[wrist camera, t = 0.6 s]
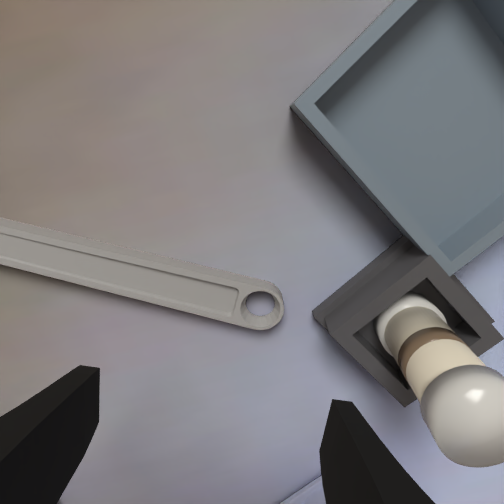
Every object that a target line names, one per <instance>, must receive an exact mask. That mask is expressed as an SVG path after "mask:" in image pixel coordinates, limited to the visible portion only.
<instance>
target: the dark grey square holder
mask: <svg viewBox="0 0 504 504" xmlns="http://www.w3.org/2000/svg"><path fill="white" fill-rule="evenodd" d="M408 291H412V292H417V293H420V294H422V295H424V296H425V297H427V298H428V299H429V300H430V301H431V302H432V303H433V304H434V305H435V306H436V307H437V308H438V309H439V311H440V312H441V313H442V314H443V315H444V317H445V319H446V322H447V325H448V326H449V327H450V328H451V329H452V330H453V331H454V332H455V333H456V334H457V335H458V336H459V337H460V338H461V339H462V340H463V341H464V342H465V343H466V345H467V346H468V347H469V348H470V349H471V350H472V351H473V353H474V354H475V355H476V356H477V357H478V356H480V355H481V354H483V353H484V352H486V351H487V350H489V349H490V348H492V347H493V346H494V345H496V344H497V343H499V342H500V341H502V340H503V339H504V338H503V337H502V335H501V334H500V333H499V332H498V331H497V330H496V329H495V328H494V326H493V325H492V323H493V322H495V321H494V320H493V319H492V318H491V317H490V315H489V314H488V313H487V312H486V311H485V310H484V309H483V307H482V306H481V305H480V304H479V303H478V302H477V301H476V299H475V298H474V297H473V296H472V295H471V294H470V293H469V291H468V290H467V289H466V288H465V287H464V286H463V285H462V283H461V282H460V281H459V280H458V279H457V278H456V276H455V275H454V274H453V275H452V276H449V275H448V274H447V273H446V272H445V271H444V270H443V268H442V267H441V266H440V265H439V264H438V263H437V262H436V260H435V259H434V258H433V257H432V256H431V255H430V254H429V255H427V254H425V253H424V252H423V251H421V250H420V249H419V248H418V247H416V246H415V245H414V244H413V243H412V242H411V241H410V240H409V239H408V238H407V237H406V236H402V237H401V238H400V239H399V240H398V241H396V242H395V243H394V244H393V245H391V246H390V247H389V248H388V249H387V250H385V251H384V252H383V253H382V254H381V255H379V256H378V257H377V258H376V259H374V260H373V261H372V262H371V263H370V264H368V265H367V266H366V267H365V268H364V269H362V270H361V271H360V272H359V273H357V274H356V275H355V276H354V277H353V278H351V279H350V280H349V281H348V282H347V283H345V284H344V285H343V286H342V287H340V288H339V289H338V290H337V291H336V292H334V293H333V294H332V295H331V296H330V297H328V298H327V299H326V300H325V301H323V302H322V303H321V304H320V305H319V306H317V307H316V308H315V309H314V310H313V311H312V312H313V315H314V318H315V319H316V320H317V321H318V322H319V323H320V324H321V325H322V326H323V327H324V328H325V329H326V330H327V331H329V334H330V335H331V336H332V337H333V338H334V339H335V340H336V341H337V342H338V343H339V344H340V345H341V346H342V347H343V348H344V349H345V350H346V351H347V352H348V353H349V354H350V355H351V356H352V357H353V358H354V359H355V360H356V361H357V362H358V363H359V364H360V365H362V366H363V367H364V368H365V369H366V370H367V371H368V372H369V373H370V374H371V375H372V376H373V377H374V378H375V379H376V380H377V381H378V382H379V383H380V384H381V385H382V386H383V387H384V388H385V389H386V390H387V391H388V392H389V393H390V394H391V395H392V396H393V397H394V398H395V399H396V400H398V401H399V402H400V403H401V404H402V405H403V406H404V407H406V406H407V405H409V404H410V403H412V402H413V401H415V400H416V399H417V397H416V395H415V393H414V392H413V390H412V388H411V387H410V385H409V384H408V382H407V380H406V379H405V377H404V375H403V373H402V372H401V370H400V368H399V365H398V364H397V362H396V360H395V358H394V357H393V356H392V355H390V354H389V353H388V352H387V351H386V350H385V349H384V347H383V345H382V343H381V342H380V340H379V338H378V336H377V334H376V333H375V330H374V327H373V319H374V318H375V317H376V316H378V315H379V314H380V313H381V312H383V311H384V310H385V309H387V308H388V307H389V306H390V305H392V304H393V303H394V302H396V301H397V300H398V299H399V298H401V297H402V296H403V295H405V294H406V293H407V292H408Z"/></svg>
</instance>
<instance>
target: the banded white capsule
mask: <svg viewBox="0 0 504 504" xmlns="http://www.w3.org/2000/svg"><path fill="white" fill-rule="evenodd" d="M373 327H374V330H375V333H376V334H377V336H378V338H379V340H380V342H381V343H382V345H383V347H384V349H385V350H386V351H387V352H388V353H389V354H390V355H392V356H393V357H394V358H395V360H396V362H397V364H398V365H399V368H400V370H401V372H402V373H403V375H404V377H405V379H406V380H407V382H408V384H409V385H410V387H411V388H412V390H413V392H414V393H415V395H416V397H417V399H418V400H419V402H420V410H421V415H422V417H423V420H424V421H425V423H426V425H427V427H428V429H429V430H430V432H431V434H432V436H433V438H434V439H435V441H436V443H437V445H438V447H439V448H440V450H441V452H442V453H443V454H444V455H445V456H446V457H447V458H448V459H450V460H451V461H453V462H455V463H457V464H460V465H463V466H468V467H488V466H493V465H497V464H500V463H503V462H504V377H503V376H502V375H501V374H500V373H499V372H497V371H496V370H494V369H492V368H489V367H486V365H485V364H484V363H483V362H482V361H481V360H480V359H479V358H478V357H477V356H476V355H475V354H474V353H473V351H472V350H471V349H470V348H469V347H468V346H467V345H466V343H465V342H464V341H463V340H462V339H461V338H460V337H459V336H458V335H457V334H456V333H455V332H454V331H453V330H452V329H451V328H450V327H449V326H448V325H447V322H446V319H445V317H444V315H443V314H442V313H441V312H440V311H439V309H438V308H437V307H436V306H435V305H434V304H433V303H432V302H431V301H430V300H429V299H428V298H427V297H425V296H424V295H422V294H420V293H417V292H412V291H408V292H407V293H406V294H405V295H403V296H402V297H401V298H399V299H398V300H397V301H396V302H394V303H393V304H392V305H390V306H389V307H388V308H387V309H385V310H384V311H383V312H381V313H380V314H379V315H378V316H376V317H375V318H374V319H373Z"/></svg>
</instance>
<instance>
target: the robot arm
mask: <svg viewBox="0 0 504 504" xmlns="http://www.w3.org/2000/svg"><path fill="white" fill-rule="evenodd" d="M99 384H100V368H96V367H89V366H82V365H80V366H78V367H76V368H75V369H73V370H72V371H70V372H69V373H67V374H66V375H64V376H63V377H61V378H60V379H59V380H57V381H56V382H54V383H53V384H51V385H50V386H48V387H47V388H45V389H44V390H42V391H41V392H39V393H38V394H36V395H35V396H33V397H32V398H30V399H28V400H27V401H25V402H24V403H22V404H21V405H19V406H18V407H16V408H14V409H13V410H11V411H9V412H8V413H6V414H4V415H3V416H1V417H0V504H56V503H57V502H58V500H59V498H60V497H61V495H62V493H63V492H64V490H65V488H66V486H67V485H68V483H69V481H70V479H71V478H72V476H73V474H74V473H75V471H76V469H77V467H78V466H79V464H80V462H81V460H82V459H83V457H84V455H85V453H86V451H87V448H88V446H89V444H90V442H91V440H92V437H93V435H94V432H95V430H96V428H97V425H98V423H99ZM320 464H321V476H320V477H318V478H317V479H315V480H314V481H312V482H311V483H309V484H308V485H306V486H305V487H303V488H302V489H301V490H299V491H298V492H296V493H295V494H293V495H292V496H290V497H289V498H287V499H286V500H284V501H283V502H281V503H280V504H435V503H434V502H433V501H432V500H431V499H430V497H429V496H428V495H427V494H426V493H425V492H424V491H423V490H422V489H421V488H420V487H419V485H418V484H417V483H416V482H415V481H414V480H413V479H412V478H411V476H410V475H409V474H408V473H407V472H406V471H405V470H404V468H403V467H402V466H401V465H400V464H399V462H398V461H397V460H396V459H395V458H394V456H393V455H392V454H391V453H390V451H389V450H388V449H387V448H386V446H385V445H384V444H383V442H382V441H381V440H380V439H379V437H378V436H377V435H376V433H375V432H374V431H373V429H372V428H371V427H370V425H369V424H368V423H367V421H366V420H365V419H364V417H363V416H362V415H361V413H360V412H359V411H358V409H357V408H356V407H355V405H354V404H353V403H352V402H349V401H342V400H334V399H332V403H331V407H330V411H329V415H328V419H327V423H326V427H325V431H324V435H323V439H322V443H321V447H320Z"/></svg>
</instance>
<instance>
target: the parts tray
mask: <svg viewBox="0 0 504 504" xmlns="http://www.w3.org/2000/svg"><path fill="white" fill-rule="evenodd" d="M290 107H291V108H292V110H293V111H294V112H295V113H296V114H297V115H298V116H299V117H300V119H301V120H302V121H303V122H304V123H305V124H306V125H307V126H308V128H309V129H310V130H311V131H312V132H313V133H314V134H315V136H316V137H317V138H318V139H319V140H320V141H321V142H322V143H323V145H324V146H325V147H326V148H327V149H328V150H329V151H330V152H331V154H332V155H333V156H334V157H335V158H336V159H337V160H338V161H339V163H340V164H341V165H342V166H343V167H344V168H345V169H346V170H347V172H348V173H349V174H350V175H351V176H352V177H353V178H354V179H355V181H356V182H357V183H358V184H359V185H360V186H361V187H362V189H363V190H364V191H365V192H366V193H367V194H368V195H369V196H370V198H371V199H372V200H373V201H374V202H375V203H376V204H377V205H378V207H379V208H380V209H381V210H382V211H383V212H384V213H385V214H386V216H387V217H388V218H389V219H390V220H391V221H392V222H393V223H394V225H395V226H396V227H397V228H398V229H399V230H400V231H401V232H402V234H403V235H404V236H406V237H407V238H408V239H409V240H410V241H411V242H412V243H413V244H414V245H415V246H416V247H418V248H419V249H420V250H421V251H423V252H424V253H425V254H427V255H429V254H430V255H431V256H432V257H433V258H434V259H435V260H436V262H437V263H438V264H439V265H440V266H441V267H442V268H443V270H444V271H445V272H446V273H447V274H448V275H449V276H452V275H453V274H454V273H455V272H457V271H458V270H459V269H461V268H462V267H463V266H465V265H466V264H467V263H469V262H470V261H471V260H472V259H474V258H475V257H476V256H478V255H479V254H480V253H482V252H483V251H484V250H486V249H487V248H488V247H489V246H491V245H492V244H493V243H495V242H496V241H497V240H499V239H500V238H501V237H503V236H504V0H394V1H393V2H392V3H391V4H390V5H389V6H388V7H387V8H386V9H385V10H384V11H383V12H382V13H381V14H380V15H379V16H378V17H377V18H376V19H375V20H374V21H373V22H372V23H371V24H370V25H369V26H368V27H367V28H366V29H365V30H364V31H363V32H362V33H361V34H360V35H359V36H358V37H357V38H356V39H355V40H354V41H353V42H352V43H351V44H350V45H349V46H348V47H347V48H346V50H345V51H344V52H343V53H342V54H341V55H340V56H339V57H338V58H337V59H336V60H335V61H334V62H333V63H332V64H331V65H330V66H329V67H328V68H327V69H326V70H325V71H324V72H323V73H322V74H321V75H320V76H319V77H318V78H317V79H316V80H315V81H314V82H313V83H312V84H311V85H310V86H309V87H308V88H307V89H306V90H305V91H304V92H303V93H302V94H301V95H300V96H299V97H298V98H297V99H296V100H295V101H294V102H293V103H292V104H291V105H290Z"/></svg>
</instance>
